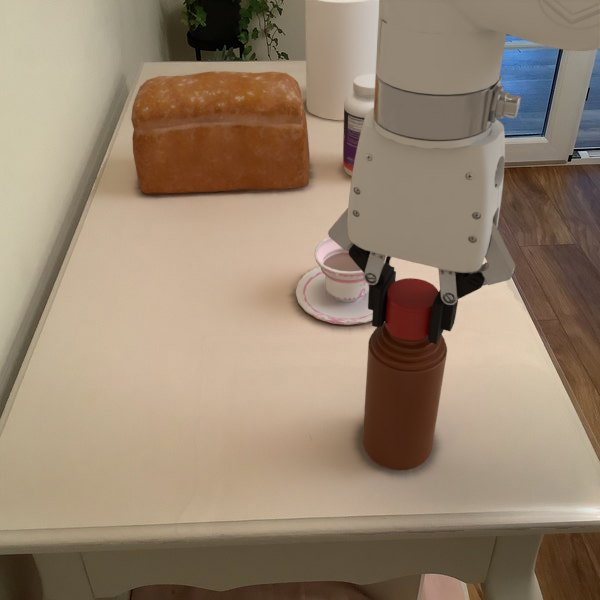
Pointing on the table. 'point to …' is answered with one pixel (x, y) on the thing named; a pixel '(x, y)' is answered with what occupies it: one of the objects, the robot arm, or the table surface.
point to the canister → (338, 51)
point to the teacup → (335, 287)
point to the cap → (409, 308)
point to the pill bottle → (356, 116)
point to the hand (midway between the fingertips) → (409, 323)
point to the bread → (220, 133)
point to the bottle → (402, 398)
